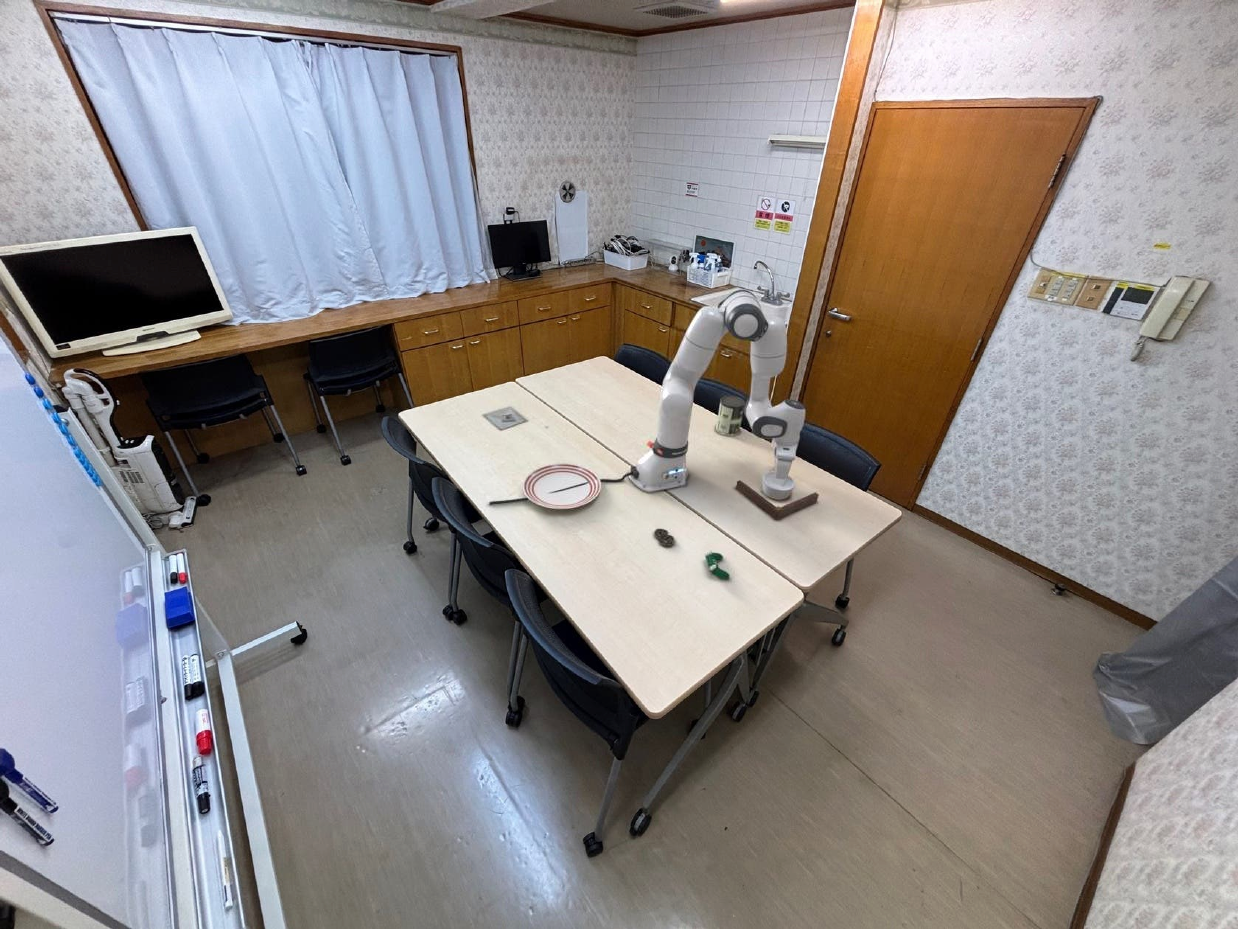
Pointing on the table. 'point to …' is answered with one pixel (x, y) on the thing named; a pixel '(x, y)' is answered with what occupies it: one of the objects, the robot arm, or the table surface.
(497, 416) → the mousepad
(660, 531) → the corroded twin loop
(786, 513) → the corner guard
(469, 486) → the table surface
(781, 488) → the ramekin
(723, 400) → the coffee can
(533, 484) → the plate
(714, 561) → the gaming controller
